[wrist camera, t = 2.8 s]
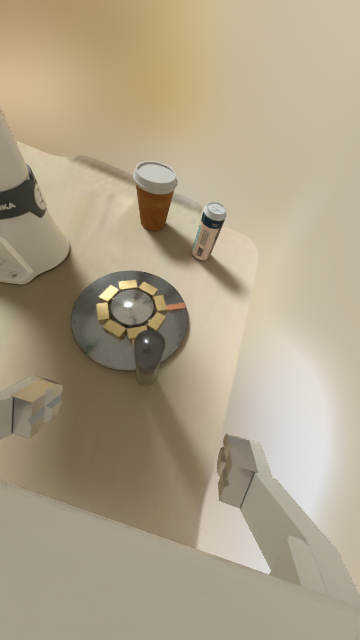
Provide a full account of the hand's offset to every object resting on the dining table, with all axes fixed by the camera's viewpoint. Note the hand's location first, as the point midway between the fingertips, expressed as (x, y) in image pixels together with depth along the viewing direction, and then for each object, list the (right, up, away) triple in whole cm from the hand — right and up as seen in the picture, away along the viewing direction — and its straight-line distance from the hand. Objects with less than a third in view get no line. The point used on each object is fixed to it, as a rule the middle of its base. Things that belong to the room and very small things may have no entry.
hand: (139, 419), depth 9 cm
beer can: (+7, +21, +40) cm, 45 cm away
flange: (-7, +5, +28) cm, 29 cm away
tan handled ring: (-6, +3, +25) cm, 26 cm away
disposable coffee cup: (-5, +30, +42) cm, 52 cm away
